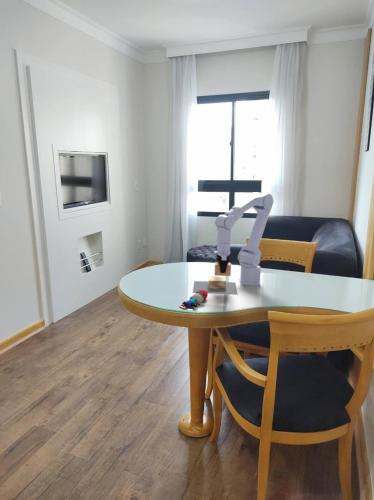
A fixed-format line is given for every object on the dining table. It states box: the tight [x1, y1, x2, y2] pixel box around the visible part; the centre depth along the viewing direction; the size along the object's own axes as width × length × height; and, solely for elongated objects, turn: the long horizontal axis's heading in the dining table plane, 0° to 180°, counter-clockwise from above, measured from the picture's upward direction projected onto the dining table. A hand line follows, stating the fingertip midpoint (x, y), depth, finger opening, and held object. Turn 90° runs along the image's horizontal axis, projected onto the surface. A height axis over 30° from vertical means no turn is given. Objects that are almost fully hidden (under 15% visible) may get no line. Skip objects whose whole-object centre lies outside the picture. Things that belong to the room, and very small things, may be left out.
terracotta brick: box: [214, 262, 232, 277], centre depth 163 cm, size 7×4×5 cm, turn 87°
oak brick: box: [208, 275, 227, 289], centre depth 169 cm, size 8×6×4 cm
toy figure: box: [181, 290, 209, 308], centre depth 150 cm, size 8×5×15 cm
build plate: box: [192, 280, 238, 295], centre depth 168 cm, size 20×16×1 cm
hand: (222, 271), depth 163 cm, fingers closed on terracotta brick, 4 cm apart
